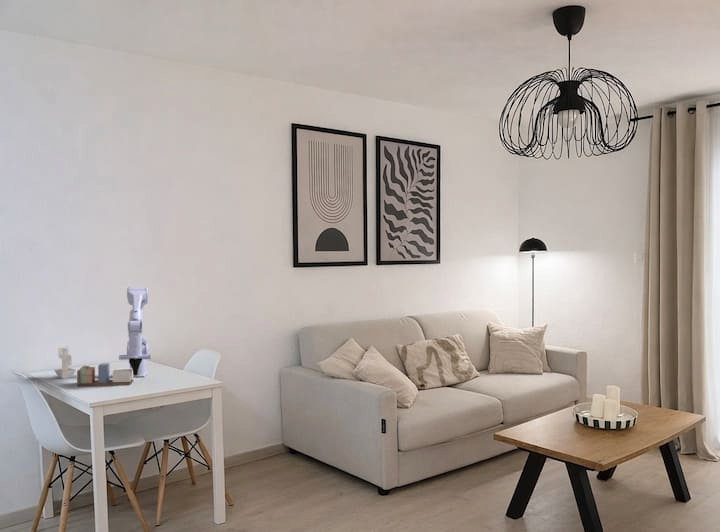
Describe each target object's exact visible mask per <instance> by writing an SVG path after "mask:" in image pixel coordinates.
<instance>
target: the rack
mask: <svg viewBox="0 0 720 532" xmlns="http://www.w3.org/2000/svg"><path fill="white" fill-rule="evenodd" d="M76 378H77V380H76V381H77V383H76V386H77V387H97V386H99V387H100V386H104V387H105V386H107V387H108V386H129V385H131V384H132V383H133V382H134V378H133V379H132V380H131V381H130V382H113V379H110V380H109V381H108V382H107V383H98V379H96V366H90V365H83V366H82V367H80V369H78V370H76Z"/></svg>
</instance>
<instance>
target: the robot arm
mask: <svg viewBox="0 0 720 532" xmlns="http://www.w3.org/2000/svg"><path fill="white" fill-rule="evenodd" d="M126 296H127V297H126V298H127V304H128V305H129V306H132V309H131V310H130V311H129V320H128V322H127V333H128V335H127V336H128V341H127V344H126V345H127V346H126V354H120V355H119V356H118V360H119V361H122V360H123V361H124V360H128V363H129V368H132V370H133V378H137V377H139V378H142V377H143V378H144V377H146V376H147V375H148V373H149V371H147V360H152V359H153V355H152V354H149V342H148V340H146V338H144V337H143V332H144V331H143V330H144V322H143V321H144V320H143V313H144V312H143V311H144V310H143V309H144V306H145V305H147V304H148V302H149V288H148V286H133V287H132V286H131V287H130V286H128V287H127V289H126Z"/></svg>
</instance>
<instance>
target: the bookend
mask: <svg viewBox="0 0 720 532" xmlns="http://www.w3.org/2000/svg"><path fill="white" fill-rule="evenodd" d="M132 379H133V380H134V377H133V370H132V368H130V367H126V368H115V369H114V370H112V380H113V382H130V381H131V380H132Z"/></svg>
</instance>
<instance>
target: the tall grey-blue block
mask: <svg viewBox="0 0 720 532" xmlns="http://www.w3.org/2000/svg"><path fill="white" fill-rule="evenodd" d="M110 364H111V363H109V362H108V363H105V362H103V363H100V364H99V365H98V368H97V369H98V370H97V373H98V376H97V377H98V379H97V380H98V383H107V382H108V381H109V380H111V379H110V373H111V370H110V367H111V366H110Z"/></svg>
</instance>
